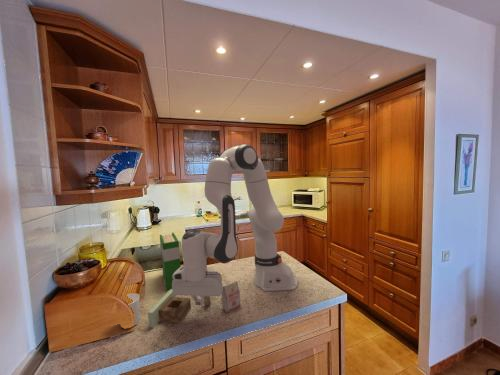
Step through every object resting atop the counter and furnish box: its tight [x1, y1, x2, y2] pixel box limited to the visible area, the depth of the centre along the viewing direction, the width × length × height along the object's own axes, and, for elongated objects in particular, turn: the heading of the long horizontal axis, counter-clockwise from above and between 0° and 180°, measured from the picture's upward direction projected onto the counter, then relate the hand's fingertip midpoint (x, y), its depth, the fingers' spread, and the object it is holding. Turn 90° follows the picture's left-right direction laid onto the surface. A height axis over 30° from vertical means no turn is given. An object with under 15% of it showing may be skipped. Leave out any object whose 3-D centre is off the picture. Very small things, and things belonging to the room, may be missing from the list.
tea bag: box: [221, 281, 242, 313], centre depth 92 cm, size 4×7×10 cm, turn 126°
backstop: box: [147, 289, 177, 328], centre depth 90 cm, size 2×16×6 cm, turn 169°
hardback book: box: [159, 232, 182, 292], centre depth 115 cm, size 18×7×24 cm, turn 27°
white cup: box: [126, 292, 141, 326], centre depth 85 cm, size 8×8×10 cm
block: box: [159, 296, 192, 324], centre depth 89 cm, size 9×9×4 cm
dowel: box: [203, 296, 212, 307], centre depth 94 cm, size 3×3×8 cm
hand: (199, 304), depth 87 cm, fingers closed
